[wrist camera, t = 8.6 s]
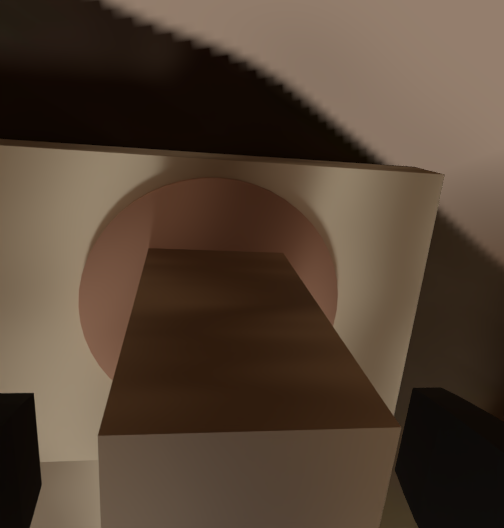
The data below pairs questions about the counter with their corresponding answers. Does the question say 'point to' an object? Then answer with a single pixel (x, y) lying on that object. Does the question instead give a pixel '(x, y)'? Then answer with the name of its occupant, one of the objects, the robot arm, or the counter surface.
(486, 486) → the robot arm
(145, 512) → the walnut block
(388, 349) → the holder board
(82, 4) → the counter surface
